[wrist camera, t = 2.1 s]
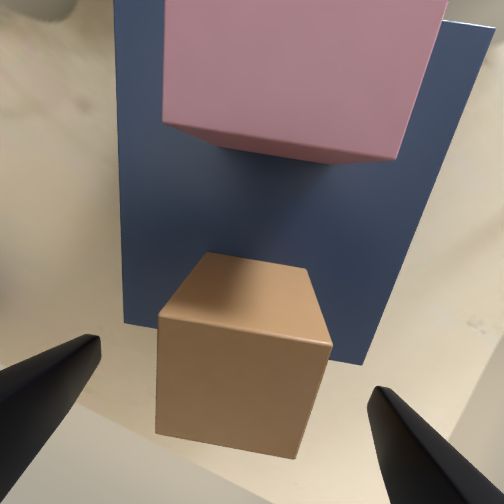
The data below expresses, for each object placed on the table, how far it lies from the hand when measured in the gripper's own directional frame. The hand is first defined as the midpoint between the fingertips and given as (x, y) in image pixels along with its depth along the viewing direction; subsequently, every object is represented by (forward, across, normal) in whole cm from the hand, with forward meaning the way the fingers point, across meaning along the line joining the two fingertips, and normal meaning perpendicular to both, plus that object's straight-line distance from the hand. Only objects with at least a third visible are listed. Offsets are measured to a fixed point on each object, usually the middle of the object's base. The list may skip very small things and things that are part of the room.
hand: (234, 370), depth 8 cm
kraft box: (+4, 0, 0) cm, 4 cm away
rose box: (+4, 0, -9) cm, 10 cm away
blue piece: (+9, 0, -4) cm, 10 cm away
